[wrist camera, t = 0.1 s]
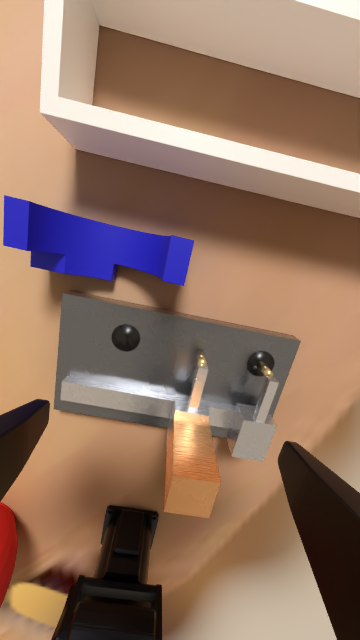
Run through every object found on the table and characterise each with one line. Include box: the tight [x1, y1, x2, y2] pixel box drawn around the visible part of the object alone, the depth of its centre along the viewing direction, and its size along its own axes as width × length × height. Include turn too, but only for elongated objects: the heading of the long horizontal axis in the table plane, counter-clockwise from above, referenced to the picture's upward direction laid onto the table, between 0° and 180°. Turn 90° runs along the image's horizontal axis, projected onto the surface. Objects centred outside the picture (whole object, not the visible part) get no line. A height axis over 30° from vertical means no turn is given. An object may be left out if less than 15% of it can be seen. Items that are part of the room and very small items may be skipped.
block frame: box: [40, 0, 360, 218], centre depth 16 cm, size 9×31×5 cm, turn 78°
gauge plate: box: [54, 291, 301, 462], centre depth 22 cm, size 12×22×5 cm, turn 78°
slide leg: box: [164, 351, 221, 518], centre depth 18 cm, size 8×3×9 cm, turn 168°
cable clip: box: [3, 195, 194, 286], centre depth 18 cm, size 12×4×6 cm, turn 77°
